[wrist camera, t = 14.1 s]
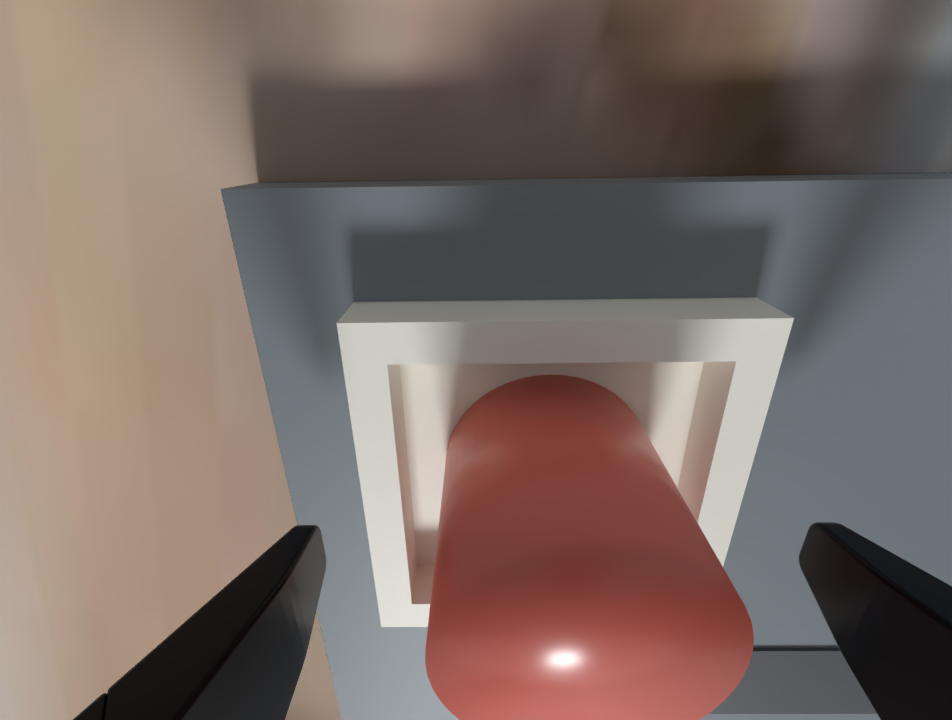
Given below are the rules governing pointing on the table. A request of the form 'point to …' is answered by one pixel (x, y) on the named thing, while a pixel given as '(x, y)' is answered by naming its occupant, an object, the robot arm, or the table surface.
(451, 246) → the breaker panel
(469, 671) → the cap
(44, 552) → the table surface
